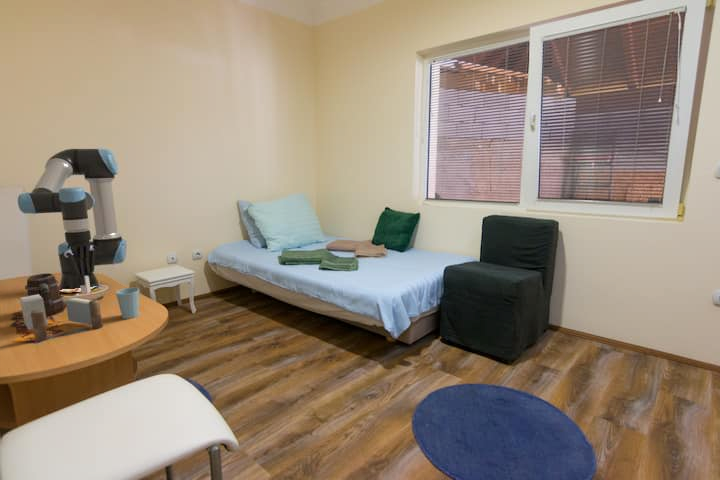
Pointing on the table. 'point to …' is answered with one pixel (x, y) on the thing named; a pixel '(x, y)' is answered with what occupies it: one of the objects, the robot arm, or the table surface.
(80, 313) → the white thick panel
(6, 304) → the table surface
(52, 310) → the mug
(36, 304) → the small box
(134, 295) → the cup
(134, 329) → the table surface
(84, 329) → the posts
